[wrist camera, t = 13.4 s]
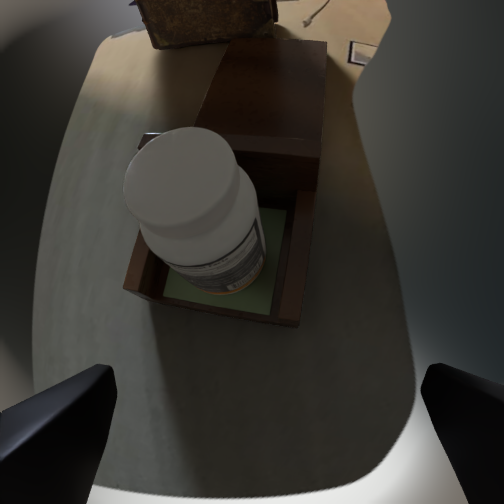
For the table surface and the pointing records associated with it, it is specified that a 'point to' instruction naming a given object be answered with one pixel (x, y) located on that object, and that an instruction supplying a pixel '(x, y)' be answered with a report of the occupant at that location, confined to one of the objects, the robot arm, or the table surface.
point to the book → (206, 21)
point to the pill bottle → (197, 209)
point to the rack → (258, 175)
